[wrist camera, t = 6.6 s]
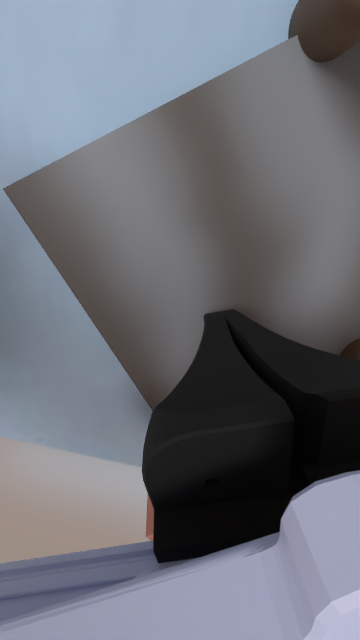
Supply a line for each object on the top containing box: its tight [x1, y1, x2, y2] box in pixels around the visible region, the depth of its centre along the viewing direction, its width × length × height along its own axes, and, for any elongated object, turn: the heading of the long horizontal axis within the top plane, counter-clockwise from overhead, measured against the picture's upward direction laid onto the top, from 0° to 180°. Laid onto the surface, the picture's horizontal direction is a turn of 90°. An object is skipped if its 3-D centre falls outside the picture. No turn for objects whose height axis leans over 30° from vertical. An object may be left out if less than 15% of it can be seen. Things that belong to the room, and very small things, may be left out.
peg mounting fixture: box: [3, 0, 360, 410], centre depth 9 cm, size 13×16×7 cm
